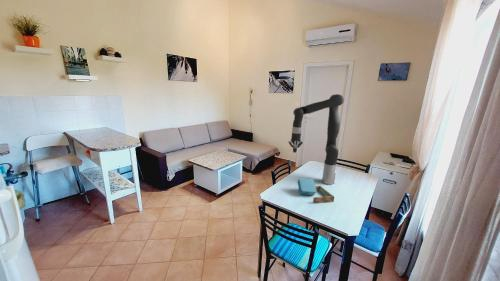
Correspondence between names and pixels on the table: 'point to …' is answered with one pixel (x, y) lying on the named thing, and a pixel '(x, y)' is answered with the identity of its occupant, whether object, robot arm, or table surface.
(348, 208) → the table surface
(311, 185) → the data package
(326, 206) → the table surface
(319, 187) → the brown wooden u shape
